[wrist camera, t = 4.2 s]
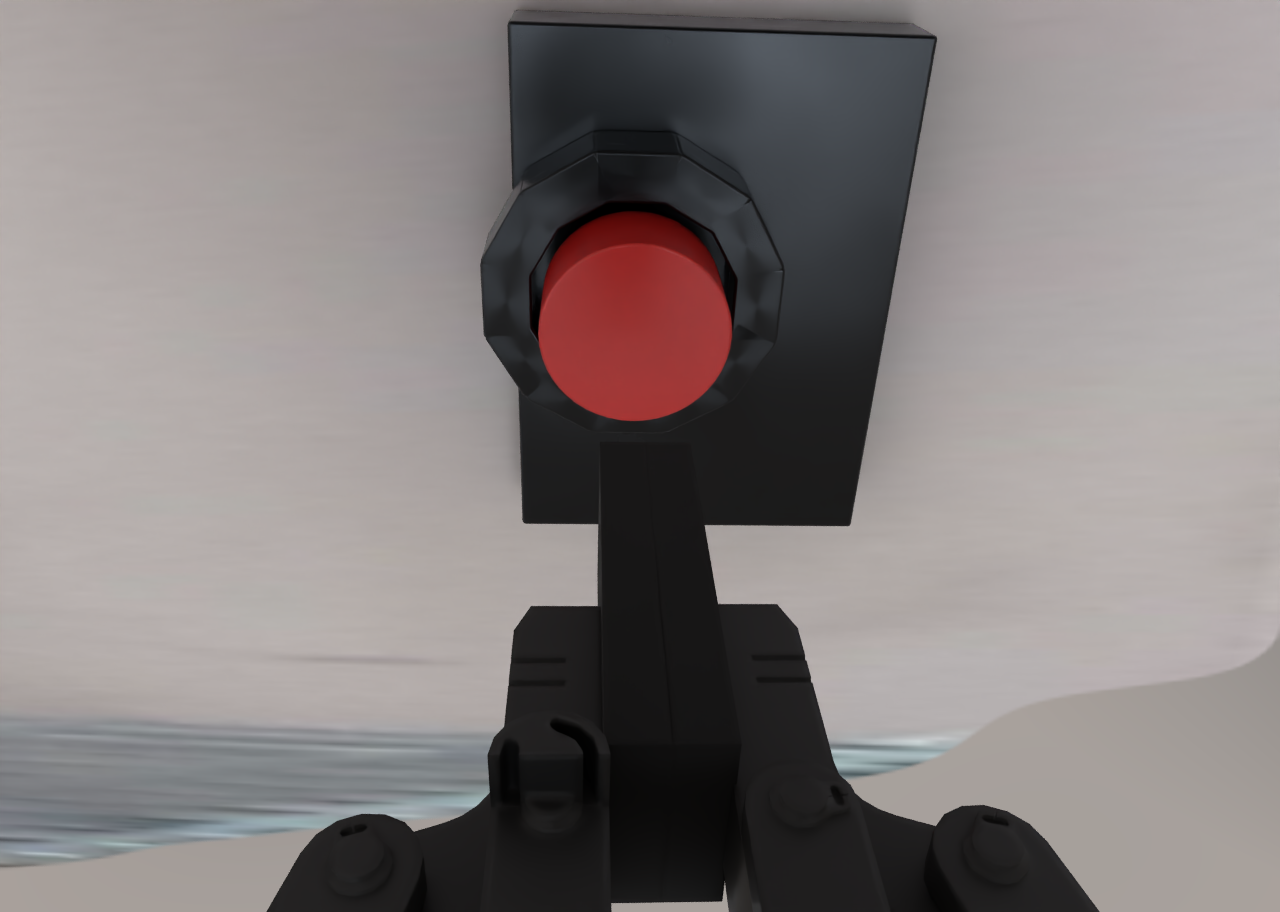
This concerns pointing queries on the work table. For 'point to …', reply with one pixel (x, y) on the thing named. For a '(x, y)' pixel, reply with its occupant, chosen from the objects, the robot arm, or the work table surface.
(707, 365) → the button
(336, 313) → the work table surface
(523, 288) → the switch box
